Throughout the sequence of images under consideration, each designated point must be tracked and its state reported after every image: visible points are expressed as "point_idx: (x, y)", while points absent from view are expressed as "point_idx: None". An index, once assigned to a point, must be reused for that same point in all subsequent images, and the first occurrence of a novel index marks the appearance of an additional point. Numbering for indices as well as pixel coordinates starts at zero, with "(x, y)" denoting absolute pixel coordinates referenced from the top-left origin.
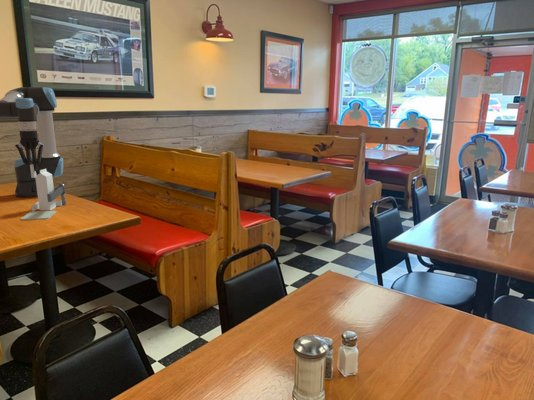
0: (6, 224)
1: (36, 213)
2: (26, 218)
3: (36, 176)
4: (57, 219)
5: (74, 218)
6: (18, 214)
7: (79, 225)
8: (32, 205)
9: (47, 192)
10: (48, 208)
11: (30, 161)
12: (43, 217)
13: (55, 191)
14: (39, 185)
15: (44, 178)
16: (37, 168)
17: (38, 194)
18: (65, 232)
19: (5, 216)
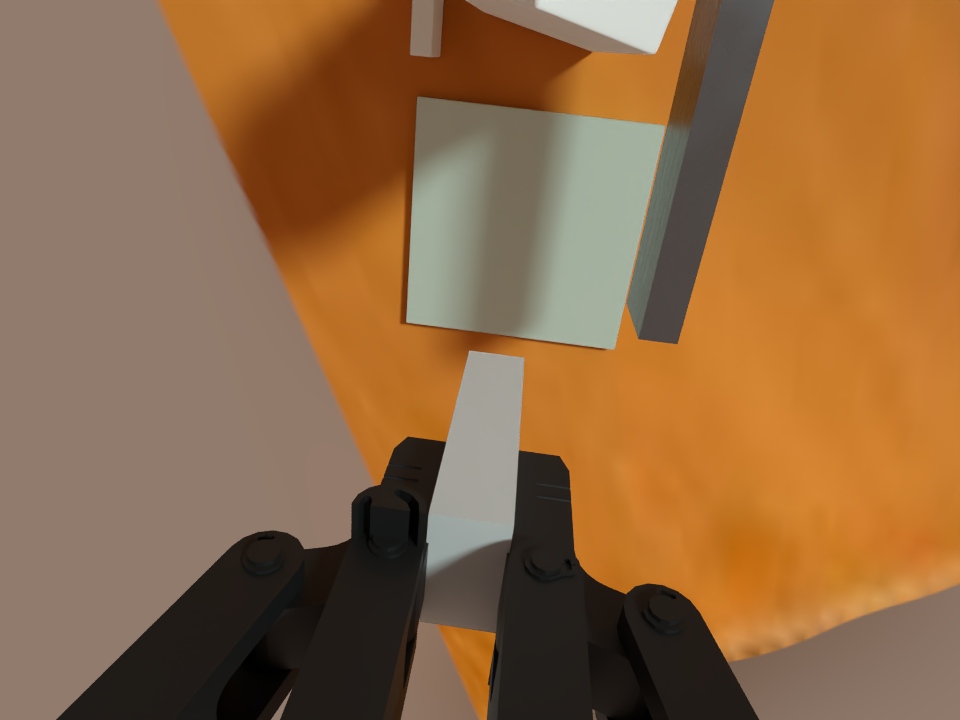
0: (349, 403)
1: (491, 188)
2: (449, 326)
3: (523, 364)
4: (680, 373)
5: (810, 378)
6: (330, 139)
7: (827, 537)
8: (413, 19)
9: (607, 51)
10: (579, 46)
11: (393, 601)
12: (573, 330)
13: (730, 138)
14: (497, 7)
15: (610, 43)
16: (569, 489)
17: (476, 4)
18: (735, 625)
19: (246, 183)
